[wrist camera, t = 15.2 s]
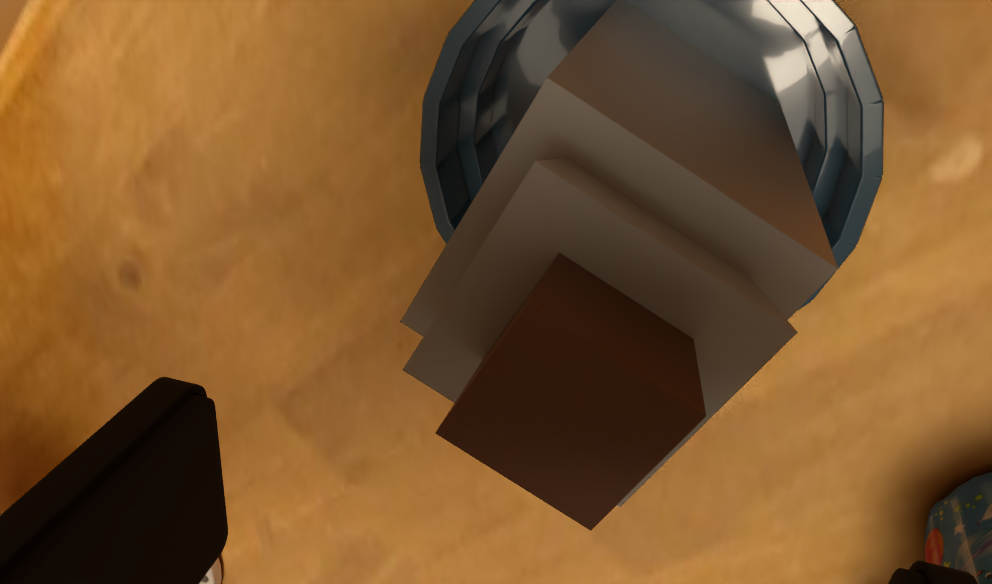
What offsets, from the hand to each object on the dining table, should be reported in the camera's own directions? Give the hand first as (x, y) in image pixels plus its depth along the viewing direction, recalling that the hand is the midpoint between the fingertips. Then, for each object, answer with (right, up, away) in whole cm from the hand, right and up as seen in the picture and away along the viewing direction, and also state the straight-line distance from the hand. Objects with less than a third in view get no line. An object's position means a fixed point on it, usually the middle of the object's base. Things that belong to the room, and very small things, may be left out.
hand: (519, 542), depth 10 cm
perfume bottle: (+5, +10, +18) cm, 21 cm away
